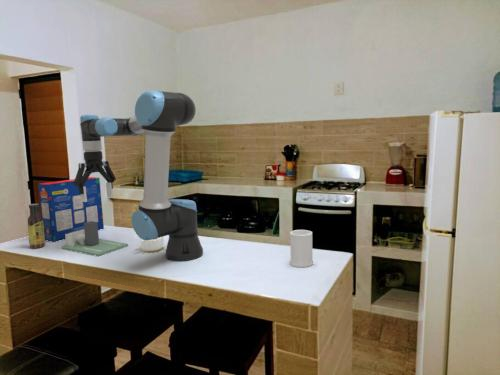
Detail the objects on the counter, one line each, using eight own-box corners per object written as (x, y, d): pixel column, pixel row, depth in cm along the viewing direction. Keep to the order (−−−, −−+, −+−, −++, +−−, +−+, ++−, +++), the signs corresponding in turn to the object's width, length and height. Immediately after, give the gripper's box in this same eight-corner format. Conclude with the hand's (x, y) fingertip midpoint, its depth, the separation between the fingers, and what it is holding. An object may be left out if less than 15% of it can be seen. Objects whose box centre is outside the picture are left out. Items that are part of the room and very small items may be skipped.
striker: (100, 243, 170) (98, 221, 169) (89, 246, 166) (87, 224, 164) (90, 241, 174) (88, 220, 173) (79, 244, 169) (77, 222, 168)
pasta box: (94, 227, 206) (90, 177, 202) (103, 228, 202) (99, 177, 198) (44, 240, 183) (38, 183, 179) (53, 242, 179) (47, 184, 175)
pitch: (128, 245, 169) (127, 233, 168) (98, 256, 155) (96, 242, 154) (92, 239, 182) (91, 227, 181) (61, 248, 168) (59, 235, 167)
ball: (82, 232, 175) (82, 240, 176) (74, 234, 171) (75, 243, 172) (87, 233, 173) (88, 242, 174) (80, 236, 169) (80, 244, 170)
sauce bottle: (39, 249, 168) (34, 205, 165) (26, 248, 169) (21, 205, 166) (48, 244, 175) (44, 203, 172) (36, 244, 176) (32, 203, 173)
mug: (300, 256, 149) (299, 226, 147) (320, 259, 144) (320, 229, 142) (286, 265, 139) (285, 233, 137) (307, 269, 134) (306, 236, 132)
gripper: (109, 149, 176) (114, 194, 178) (60, 152, 154) (66, 203, 157) (121, 149, 172) (125, 195, 175) (72, 152, 150) (78, 204, 153)
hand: (97, 199), depth 166 cm, fingers open, 13 cm apart
